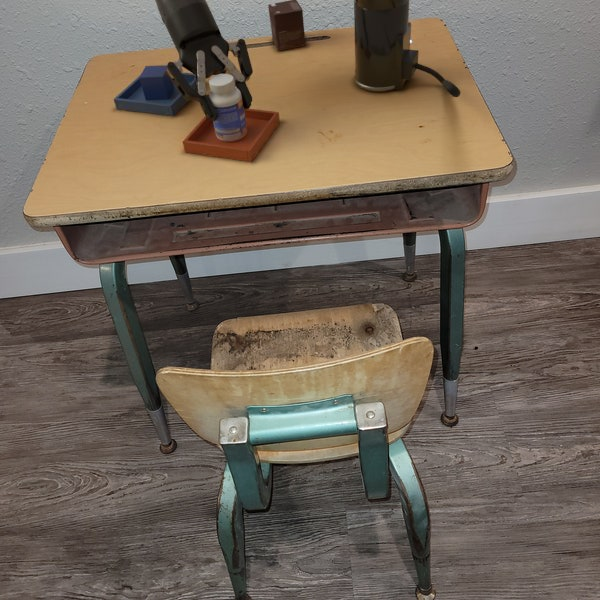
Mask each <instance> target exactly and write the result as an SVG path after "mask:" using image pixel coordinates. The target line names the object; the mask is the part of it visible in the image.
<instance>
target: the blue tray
mask: <svg viewBox="0 0 600 600" xmlns="http://www.w3.org/2000/svg"><path fill="white" fill-rule="evenodd" d="M182 75H183V76H184V78H185V79H186V80H187V82H188V83H189V85H190V86H191V88H192V89H196V88H195V78H194V74H193V73H192V72H183V73H182ZM139 77H140V75H139V76H137V77H136V78H135V79H134V80H133V81H132V82H131V83H129V84H128V86H126V87H125V88H124V89H123V90H122V91H121V92H120V93H118V94H117V95H116V96H115V97H114V98H113V99H112V100H113V102H114V105H115V108H116V110H120V111H121V110H122V111H129V112H137V113H145V114H151V115H152V114H153V115H161V116H168V117H175V115H176V114H177V113H178V112H179V111H180V110H181V109H182V108H183V107H184V106H185V105H186V104H187V102H188V101H186V100H185V99H184V97H183V96H182V95H181V93H180V92H179V90H178V89H177V88H176V86H175V85H174V90H173V92H172V94H171V96H170V98H169V99H167V100H146V99H145V96H144V92H143V89H142V86H141V82H140V79H139ZM173 84H174V83H173Z"/></svg>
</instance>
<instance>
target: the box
mask: <svg viewBox="0 0 600 600" xmlns="http://www.w3.org/2000/svg"><path fill="white" fill-rule="evenodd" d="M267 7H268V14H269V23H270V30H271V39H272V42H273V43H274V46H275V47H276V49H277V51H284V50H289V49H295V48H300V47H304V46H306V34H305V25H304V24H305V23H304V12H303V11H304V9H303V8H302V6H301V5H300V4H299V2H298V0H285V1H280V2H275V3H270V4H268V6H267Z"/></svg>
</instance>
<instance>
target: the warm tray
mask: <svg viewBox="0 0 600 600" xmlns="http://www.w3.org/2000/svg"><path fill="white" fill-rule="evenodd" d="M244 112H245V118H246V124H247V134H246V135H245V136H244V137H243V138H242V139H240V140H237V141H233V142H226V141H221V140H219V139H218V138H217V136H216V132H215V127H214V123H213V122H212V121H211V119H207V118H206V116H205V115H204V116H203V118H202V119H201V120H200V121H199V123H197V125H195V127H194V128H193V129H192V130H191V131H190V132H189V133H188V135H187V136H186V137H185V138H184V139H183V140H182V146H183V149H184V153H188V154H194V155H195V154H196V155H203V156H210V157H215V158H223V159H228V160H229V159H230V160H236V161H245V162H249V163H250V162H251V163H252V162H253V161H254V160H255V158H256V156H257V155H258V154H259V153H260V151H261V150H262V148H263V147H264V145H265V144H266V143H267V142H268V140H269V138H270V137H271V136H272V135H273V133H274V132H275V130H276V129H277V127H278V126H279V124H280V123H281V120H280V112H279V111H274V110H273V111H272V110H263V109H255V108H249V109H246V110H245V109H244Z"/></svg>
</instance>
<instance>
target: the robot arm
mask: <svg viewBox="0 0 600 600" xmlns="http://www.w3.org/2000/svg"><path fill="white" fill-rule="evenodd" d="M154 1H155V4H156V8H157V10H158V12H159V16H160V19H161V21H162V23H163V25H165V26H164V27H165V28H166V30H167V32H168V34H169V36H170V38H171V40H172V43H173V45H174V47H175V50H176V51H177V53H178V59H177V60H175V61H174V62H173V61H169V62H167V64H166V65H167V69H166V73H167V75H168V76H169V78H170V79H171V81H172V82H173V83H174V85H175V86H176V88H177V89H178V90H179V92H180V93H181V95H182V96H183V97H184V99H185V100H186V101H187V102H191V101H196V102H198V103H199V105H200V107H201V110H202V112H203V114H204V117H205V116H206V118H207V119H211V121H212V122H213V121H216V120H217V118H218V114H217V112H216V110H215V108H214V106H213V103H212V101H211V99H210V97H209V94H207V88H206V87H207V86H206V80H207V79H210V78H211V77H213V76H215V75H218V74H230V75H232V76H233V77H234V81H235V87H236V88H238V89H239V90H240V92H241V96H242V101H243V107H244V109H245V110H246V109H251V107H252V102H253V96H252V94H251V92H250V89H249V87H248V85H247V83H246V82H248V81H249V80H250V79H251V76H252V75H253V72H254V71H253V70H254V69H253V66H252V62H251V59H250V54H249V51H248V47H247V43H246V40H245V39H244V38H240V39H238V41H233V42H228V40H226V39H225V38H224V37H223V35H222V33H221V30H220V27H219V26H218V24H217V21H216V19H215V17H214V15H213V13H212V10H211V8H210V6H209V4H208V2H207V0H154ZM353 11H354V12H353V19H354V20H353V21H354V23H353V24H354V83H355V84H356V86H357V87H358V88H360V89H362V90H364V91H368V92H375V93H377V92H379V93H381V92H382V93H383V92H390V91H394V90H396V91H397V90H398V91H399V90H400V91H401V90H402V89H403V87H404V85H405V83H406V82H407V81H412V79H413V78H414V76H415V74H416V71H417V70H418V71H421V72H424V73H427V74H429V75H431V76H432V77H434V78H435V79H436V80H438V82H439V83H440V84H441V86H442V88H443V89H444V90H445V91H446V92H447V93H448V94H449V95H450V96H452V97H453V98H458V97H460V95H461V90H460V89H459V88H458V87H457V86H456V85H455V84H454V83H453V82H451V81H449V80H448V79H445V78H444V76H442V75H441V74H440V73H439V72H438V71H437V70H435V69H433V68H431V67H429V66H426V65H423V64H421V63H419V52H420V51H419V50H418V49H411V43H412V42H413V41H412V39H411V38H412V23H411V22H409V20H410V19H409V17H410V15H409V14H410V0H353ZM230 52H231V54H232V55H233V57H235V58H237V62H238V66H239V69H237V67H236V64H235V63H234V62H233V61H232V60H230V58H229V53H230ZM183 68H184V69H185V70H187V71H189V73H193V74H194V78H195V88H196V89H192V88H191V86H190V85H189V83H188V82H187V80H186V79H185V78H184V76H183V75H182V73H184V69H183Z"/></svg>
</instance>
